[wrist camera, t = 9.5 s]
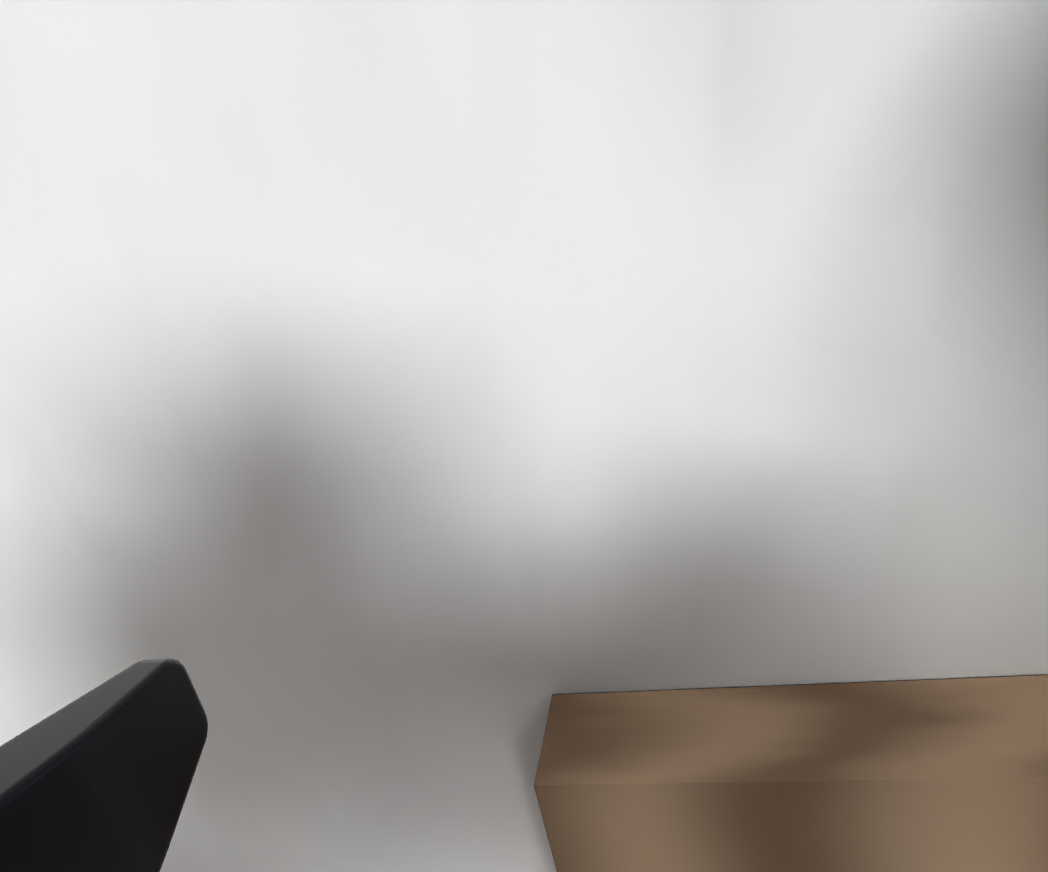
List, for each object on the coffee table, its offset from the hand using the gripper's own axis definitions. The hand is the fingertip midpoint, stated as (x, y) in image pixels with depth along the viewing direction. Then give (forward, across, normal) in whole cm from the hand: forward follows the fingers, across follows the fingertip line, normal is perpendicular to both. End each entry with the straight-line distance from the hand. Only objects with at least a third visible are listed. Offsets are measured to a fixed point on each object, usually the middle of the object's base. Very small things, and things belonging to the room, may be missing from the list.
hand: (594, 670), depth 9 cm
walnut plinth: (+11, -2, +16) cm, 20 cm away
